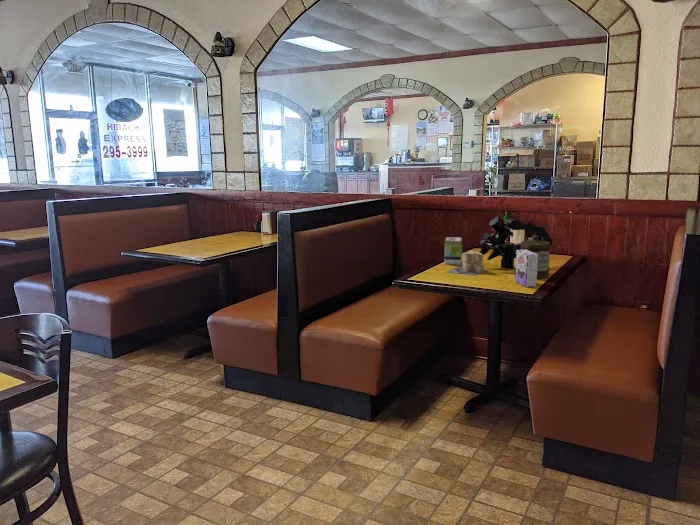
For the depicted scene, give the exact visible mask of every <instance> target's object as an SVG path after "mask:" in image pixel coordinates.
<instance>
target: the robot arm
mask: <svg viewBox="0 0 700 525" xmlns="http://www.w3.org/2000/svg"><path fill="white" fill-rule="evenodd" d="M488 223H489V224H488V225H489V226H490V227H491V229H492V230H493V231H494V232H496V234H495V233H491V234H490V233H488V232H487V233H486V232H485V233H484V235H483V237H482V239H481V241H480V242H479V243H480V246H481V248H480V251H479V253H481V254H483V256H485V255H486V254H487V253H489V252H490V250H491V249H492V251H491V253H490V254H489V256H488V257H487V259H486V260H487V261H491V260H492V259H495V258H497V257H501V259H500V268H502V269H507V270H513V269H514V268H515V269H516V265H515V259H516V251H517V250H521V242H518V243H514V242H511V241H507V239H508V238H509V237H514V232H513V231H520V230H521V231H528V232H533V233H534V235H537V236H539V238H538V239H539V240H540V241H547V242H550V247H552V245H553V239H552V238H551V236H550V234H549V233H548V232H547V231H546V230H545V228H544V226H540V225H533V224H529V223H523V222H521V221H519V220H518V219H513V218H507V219H506V220H505V221H503V220H502V218H501V217H500V216H496V217H494V218H493V219H491V220H490V221H489V222H488ZM506 241H507V242H506Z"/></svg>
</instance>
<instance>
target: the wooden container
mask: <svg viewBox="0 0 700 525" xmlns="http://www.w3.org/2000/svg"><path fill="white" fill-rule="evenodd" d="M531 238H532V239H530V240H529V239H527V240H522V241H520V243H521V250H529V251H531V252H533V253H535V254H538V267H537V280H543V279H547V278H549V274H550V255H551V254H550V252H551V251H550V250H551V246H550V242H547V241H540V240H539V239H538V238H539V236H537V235H535V234H533V235H532V236H531Z"/></svg>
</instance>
